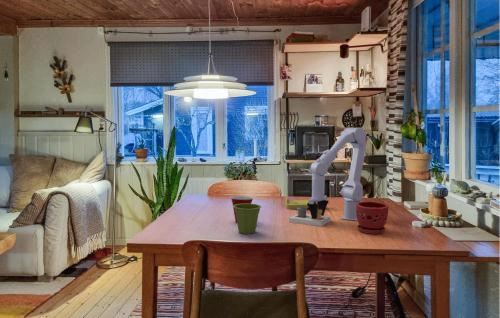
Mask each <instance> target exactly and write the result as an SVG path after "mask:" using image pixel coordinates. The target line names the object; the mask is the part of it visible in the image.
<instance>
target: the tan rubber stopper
mask: <svg viewBox="0 0 500 318" xmlns="http://www.w3.org/2000/svg"><path fill="white" fill-rule="evenodd" d="M321 212H322V209H318V212H317V218H316V219H317V220H321Z"/></svg>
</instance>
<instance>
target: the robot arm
mask: <svg viewBox="0 0 500 318" xmlns="http://www.w3.org/2000/svg"><path fill="white" fill-rule="evenodd" d="M366 137H367V132H366V131H365V129H364V128H362V127H345V128H344V129H343V131H341V133H340V136H339V137H338V138H337V140H336V141H335V142H334V143H333V145H332V146H331V148H330V149H326V150H324V151H323V152H322V154H321V156H319V158H317V159H316V161H314V162H312V163H311V165H310V167H309V172H310V173H311V197H310V198H311V199H310V198H309V199H308V200H309V203H307V206H308V209H309V212H310V215H311V217H312V218H313V219H316V218H317V212H318V209H322V212H321V216H325V213H326V209H327V205H328V204H329V200H327V199H328V197H327V196H328V195H325V186H326V185H325V183H326V182H325V181H326V179H325V178H326V177H325V175H326V174H327V173H328V170H329V167H330V165H331V164H332V163H333V162H334V161H335V160H336V158H337V155H336V154H338V153H339V152H340V151H341V149H343V148H344V146H346V144H350V145H351V146H352V148H353V151H352V157H351V162H350V163H351V164H350V168H349V173H348V179H347V180H346V181H345V182H344V184H343V187H342V188H341V191H340V194H341V196H342V198H343V216H341V218H340V219H341V220H347V221H356V222H358V221H357V216H356V204H357V203H359V202H362V201H361V200H362V199H363V197H364V191H363V190H364V189H363V187H364V186H363V184H362V183H361V177H362V170H363V165H364V160H365V155H366V148H367V142H366ZM316 202H317V203H316ZM363 215H365V214H363Z"/></svg>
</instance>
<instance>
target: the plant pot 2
mask: <svg viewBox="0 0 500 318" xmlns="http://www.w3.org/2000/svg"><path fill="white" fill-rule="evenodd" d="M363 214H365V215H363ZM356 216H357V221H356V222H357V223H358V224H357V225H356V228H357V230H358V231H359V232H360V233H364V234H369V235H378V234H383V233H384V232H385V231H386V227H385V225H386V223H387V221H388V217H389V205H388V204H386V203H383V202H380V201H379V202H377V201H371V200H370V201H366V200H365V201H361V202H359V203H357V204H356Z"/></svg>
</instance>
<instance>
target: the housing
mask: <svg viewBox="0 0 500 318" xmlns="http://www.w3.org/2000/svg"><path fill="white" fill-rule="evenodd" d="M331 219H332V218H331V216H325V215H324V216H321V220H317V219H313V218H312V217H311V213H310V214H309V213H308V214H307V213H306V218H300V217H298V213H297V214H295V215H292V216H290V217H288V222H289V223H294V224H301V225H309V226H316V227H323V226H324V225H326V224H328V223H330V222H331Z"/></svg>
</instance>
